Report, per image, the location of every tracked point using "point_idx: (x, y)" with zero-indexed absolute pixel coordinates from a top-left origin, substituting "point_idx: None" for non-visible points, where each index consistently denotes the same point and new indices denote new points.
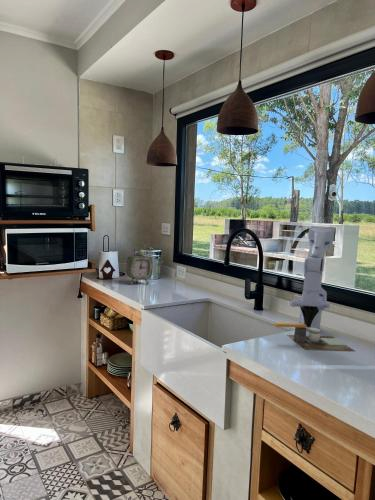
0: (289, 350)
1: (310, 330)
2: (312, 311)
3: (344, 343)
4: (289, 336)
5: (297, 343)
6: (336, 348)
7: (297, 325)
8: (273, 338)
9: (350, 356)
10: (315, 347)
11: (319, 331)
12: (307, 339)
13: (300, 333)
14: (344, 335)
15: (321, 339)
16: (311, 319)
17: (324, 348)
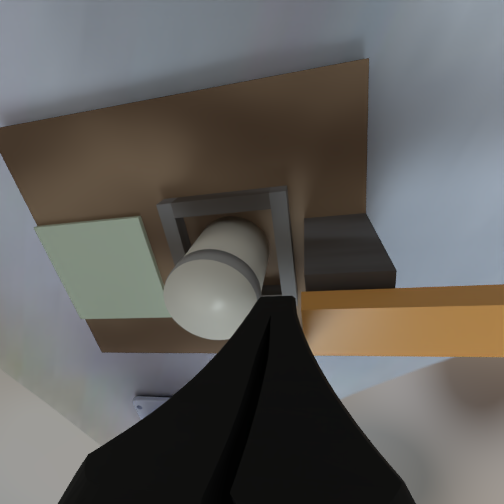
0: (483, 92)
1: (254, 285)
2: (222, 476)
3: (46, 249)
4: None
5: (363, 211)
6: (104, 159)
7: (417, 301)
8: None
9: (36, 68)
10: (251, 148)
11: (178, 265)
12: None
13: (360, 247)
14: (49, 380)
15: None
16: (245, 350)
17: (188, 140)
